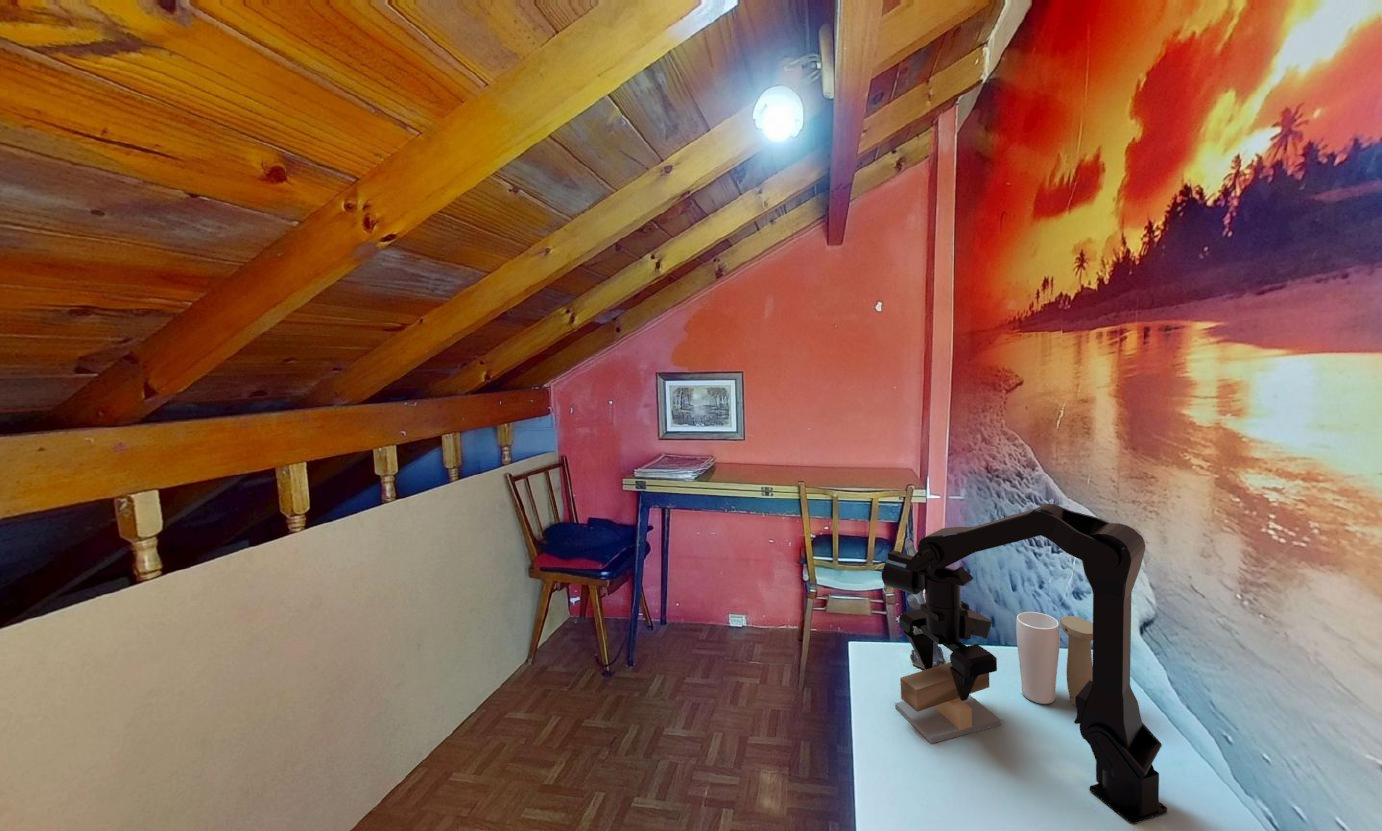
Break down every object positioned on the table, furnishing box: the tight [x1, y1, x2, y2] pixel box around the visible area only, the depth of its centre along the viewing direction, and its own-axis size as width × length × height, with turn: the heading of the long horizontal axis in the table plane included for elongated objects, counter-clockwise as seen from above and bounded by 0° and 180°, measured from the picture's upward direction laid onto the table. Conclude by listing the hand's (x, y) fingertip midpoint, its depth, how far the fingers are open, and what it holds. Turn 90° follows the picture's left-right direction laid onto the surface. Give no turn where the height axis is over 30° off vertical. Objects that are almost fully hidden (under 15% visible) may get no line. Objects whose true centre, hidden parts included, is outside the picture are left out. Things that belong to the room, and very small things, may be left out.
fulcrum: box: [894, 694, 1002, 745], centre depth 100 cm, size 10×14×4 cm
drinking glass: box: [1015, 611, 1061, 705], centre depth 103 cm, size 7×7×15 cm
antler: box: [904, 536, 947, 669], centre depth 118 cm, size 12×8×25 cm
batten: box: [899, 661, 990, 712], centre depth 99 cm, size 4×16×4 cm, turn 109°
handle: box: [1059, 615, 1093, 706], centre depth 100 cm, size 5×6×15 cm
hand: (945, 685), depth 100 cm, fingers open, 9 cm apart
